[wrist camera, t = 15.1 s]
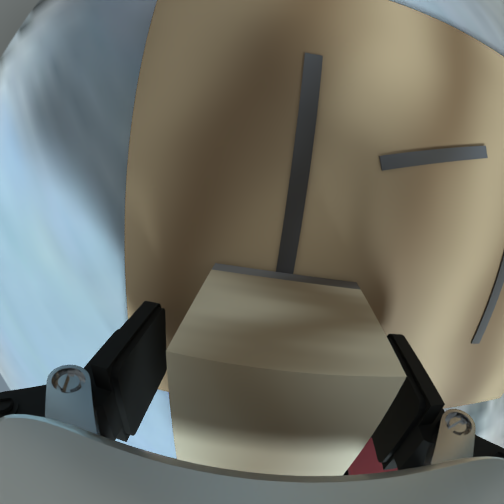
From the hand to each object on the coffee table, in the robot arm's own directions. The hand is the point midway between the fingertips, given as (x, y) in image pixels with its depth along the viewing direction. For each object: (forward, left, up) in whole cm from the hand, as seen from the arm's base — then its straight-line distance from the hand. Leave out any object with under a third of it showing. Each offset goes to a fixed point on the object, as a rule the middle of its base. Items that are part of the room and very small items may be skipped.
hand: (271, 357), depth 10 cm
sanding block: (0, +1, -1) cm, 1 cm away
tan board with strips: (-5, -5, -3) cm, 8 cm away
